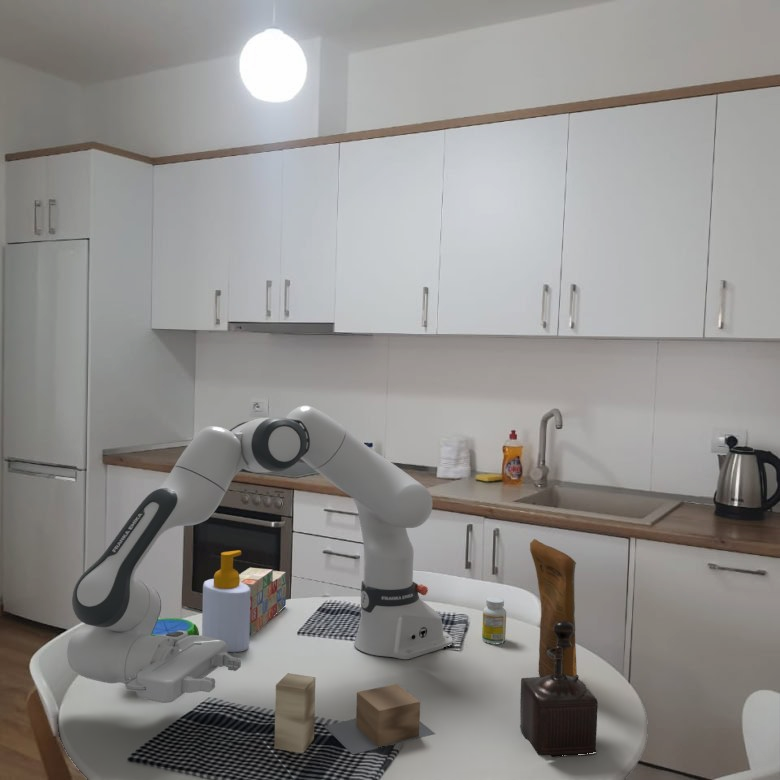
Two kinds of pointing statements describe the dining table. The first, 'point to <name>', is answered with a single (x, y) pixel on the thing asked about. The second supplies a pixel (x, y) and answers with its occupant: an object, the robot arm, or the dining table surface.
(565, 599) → the pancake mix bag
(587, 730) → the manual coffee grinder
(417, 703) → the walnut block
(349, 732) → the mat
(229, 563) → the soap bottle
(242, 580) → the stack of blocks
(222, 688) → the dining table surface
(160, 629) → the snack cup
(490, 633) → the supplement bottle
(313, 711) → the oak column
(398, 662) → the dining table surface
